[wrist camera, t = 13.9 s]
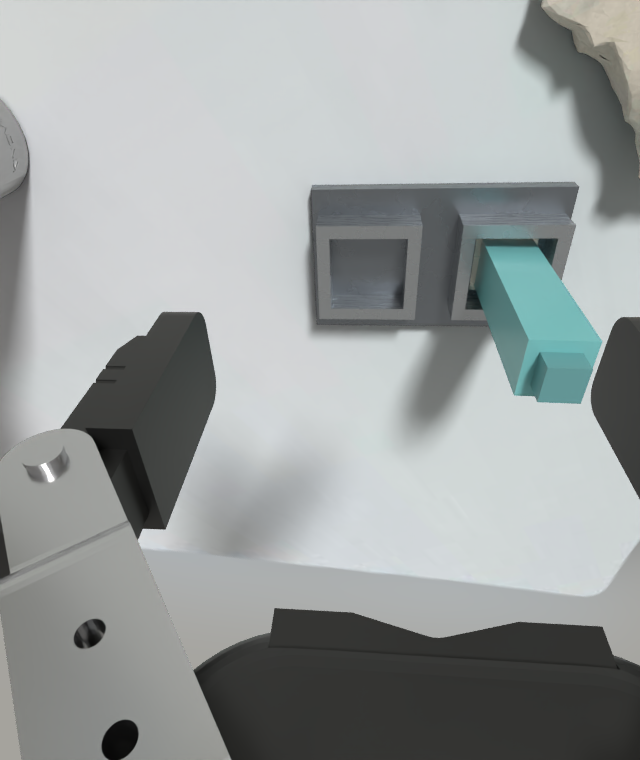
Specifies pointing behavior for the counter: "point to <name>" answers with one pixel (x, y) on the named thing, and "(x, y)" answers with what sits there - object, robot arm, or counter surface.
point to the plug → (535, 323)
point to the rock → (608, 45)
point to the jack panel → (425, 246)
